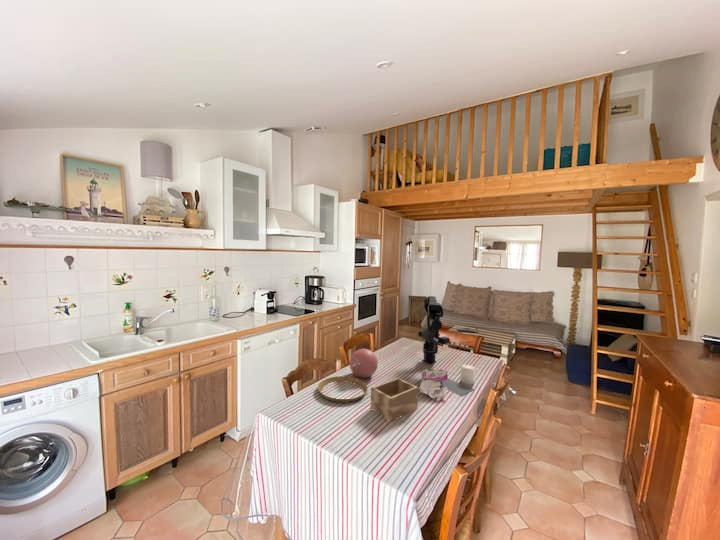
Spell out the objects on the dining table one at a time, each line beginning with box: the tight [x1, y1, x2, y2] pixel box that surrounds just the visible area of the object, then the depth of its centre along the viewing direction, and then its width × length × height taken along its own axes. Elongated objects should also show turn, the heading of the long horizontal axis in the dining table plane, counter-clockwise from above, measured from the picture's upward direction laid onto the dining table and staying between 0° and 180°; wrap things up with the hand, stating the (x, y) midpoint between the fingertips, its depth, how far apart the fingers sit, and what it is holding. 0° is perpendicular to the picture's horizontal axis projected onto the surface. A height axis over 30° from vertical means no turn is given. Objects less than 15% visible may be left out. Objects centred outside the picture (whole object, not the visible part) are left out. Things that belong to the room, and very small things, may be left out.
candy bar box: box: [421, 369, 449, 382], centre depth 155 cm, size 11×5×16 cm
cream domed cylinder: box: [459, 364, 476, 385], centre depth 162 cm, size 7×7×8 cm
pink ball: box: [349, 348, 379, 379], centre depth 162 cm, size 15×20×15 cm
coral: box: [418, 379, 448, 402], centre depth 145 cm, size 12×7×12 cm
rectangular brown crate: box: [370, 377, 419, 422], centre depth 131 cm, size 12×17×10 cm
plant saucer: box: [317, 375, 368, 403], centre depth 146 cm, size 24×24×3 cm
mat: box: [436, 378, 475, 397], centre depth 154 cm, size 17×16×1 cm
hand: (432, 351), depth 174 cm, fingers closed
